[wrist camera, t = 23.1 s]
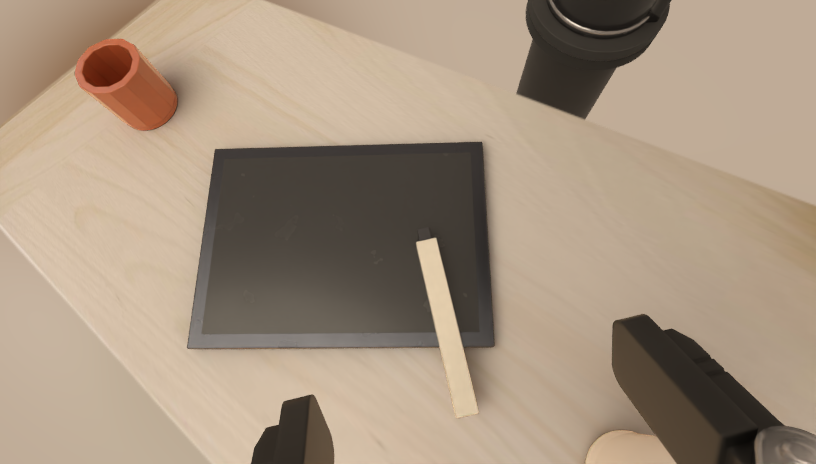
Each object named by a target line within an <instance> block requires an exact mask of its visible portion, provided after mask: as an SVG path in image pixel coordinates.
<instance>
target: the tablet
mask: <svg viewBox="0 0 816 464" xmlns="http://www.w3.org/2000/svg"><path fill="white" fill-rule="evenodd" d="M426 227H429V229H430V233H431V237H432V238H436V239H437V243H438V247H439V251H440V255H441V259H442V263H443V267H444V271H445V275H446V279H447V283H448V288H449V292H450V296H451V300H452V304H453V308H454V312H455V316H456V320H457V324H458V328H459V332H460V336H461V340H462V344H463V348H489V347H494V330H493V313H492V296H491V279H490V263H489V246H488V229H487V212H486V195H485V178H484V162H483V145H482V142H459V143H423V144H387V145H351V146H315V147H279V148H243V149H215V153H214V160H213V167H212V174H211V181H210V188H209V196H208V203H207V210H206V217H205V224H204V231H203V238H202V245H201V252H200V259H199V267H198V274H197V281H196V288H195V295H194V302H193V309H192V316H191V323H190V330H189V338H188V345H187V348H188V349H319V348H440V347H439V343H438V339H437V334H436V330H435V326H434V321H433V317H432V313H431V308H430V304H429V299H428V295H427V291H426V286H425V282H424V278H423V273H422V269H421V265H420V260H419V256H418V252H417V247H416V242H418V241H419V238H418V233H417V229H421V228H426Z"/></svg>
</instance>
